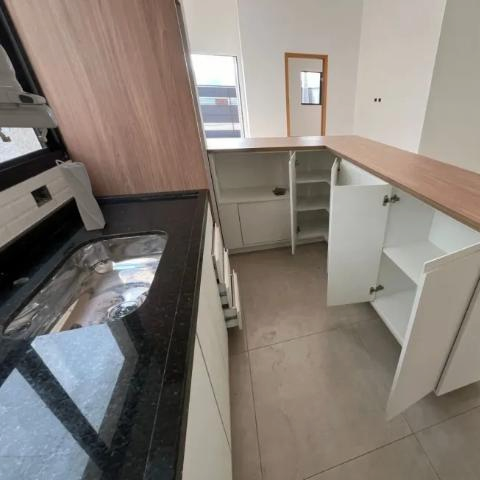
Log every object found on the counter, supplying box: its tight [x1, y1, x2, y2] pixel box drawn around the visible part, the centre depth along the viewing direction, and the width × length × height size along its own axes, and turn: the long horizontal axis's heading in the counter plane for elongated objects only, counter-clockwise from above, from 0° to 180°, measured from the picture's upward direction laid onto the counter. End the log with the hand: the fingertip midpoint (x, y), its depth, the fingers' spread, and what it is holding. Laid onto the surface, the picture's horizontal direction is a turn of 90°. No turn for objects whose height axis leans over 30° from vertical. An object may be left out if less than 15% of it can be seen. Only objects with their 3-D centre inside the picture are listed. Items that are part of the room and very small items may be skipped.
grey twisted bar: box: [55, 159, 107, 231], centre depth 105 cm, size 8×8×28 cm
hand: (26, 141), depth 91 cm, fingers open, 8 cm apart
